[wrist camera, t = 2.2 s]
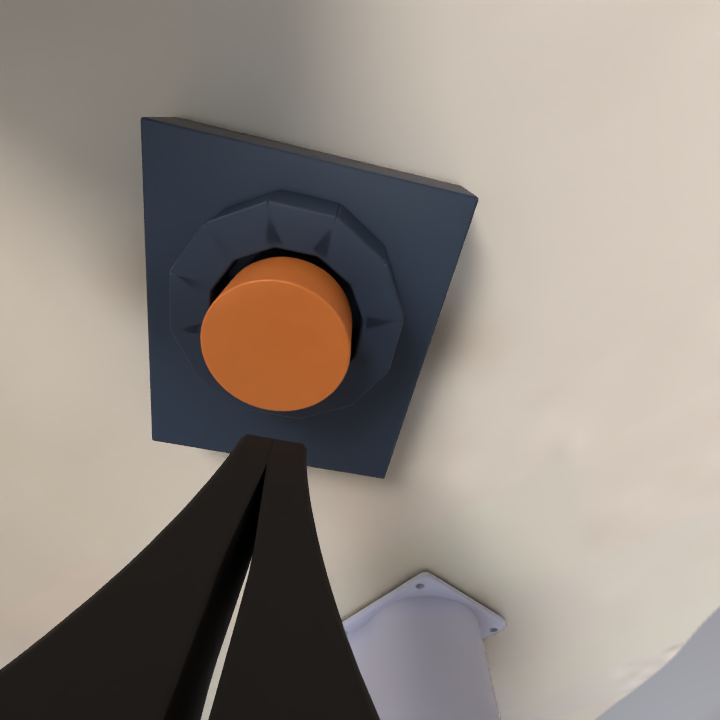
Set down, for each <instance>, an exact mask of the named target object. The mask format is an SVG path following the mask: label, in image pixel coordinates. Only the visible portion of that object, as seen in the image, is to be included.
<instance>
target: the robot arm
mask: <svg viewBox="0 0 720 720" xmlns="http://www.w3.org/2000/svg"><path fill="white" fill-rule="evenodd" d="M252 555H253V556H252ZM251 558H252V560H251ZM250 561H251V565H250V570H249V575H248V579H247V582H246V586H245V590H244V593H243V597H242V601H241V604H240V608H239V612H238V615H237V619H236V623H235V626H234V630H233V634H232V637H231V641H230V645H229V648H228V652H227V655H226V659H225V663H224V666H223V670H222V673H221V677H220V681H219V684H218V688H217V691H216V695H215V699H214V702H213V706H212V709H211V713H210V716H209V720H501V718H500V714H499V710H498V705H497V701H496V696H495V692H494V688H493V683H492V679H491V674H490V670H489V666H488V661H487V657H486V652H485V648H484V644H483V640H484V639H486V638H488V637H490V636H492V635H494V634H496V633H498V632H500V631H502V630H504V629H505V628H506V626H507V625H506V621H505V619H504V618H502V617H501V616H499V615H498V614H496V613H494V612H493V611H491V610H489V609H488V608H486V607H485V606H483V605H481V604H480V603H478V602H476V601H475V600H473V599H472V598H470V597H468V596H467V595H465V594H463V593H462V592H460V591H459V590H457V589H455V588H454V587H452V586H450V585H449V584H447V583H445V582H444V581H442V580H441V579H439V578H437V577H436V576H434V575H432V574H431V573H428V572H422V573H420V574H418V575H417V576H415V577H413V578H412V579H410V580H409V581H407V582H405V583H404V584H402V585H401V586H399V587H397V588H396V589H394V590H393V591H391V592H389V593H388V594H386V595H384V596H383V597H381V598H380V599H378V600H376V601H375V602H373V603H372V604H370V605H368V606H367V607H365V608H364V609H362V610H360V611H359V612H357V613H356V614H354V615H352V616H351V617H349V618H347V619H346V620H344V621H343V622H342V621H341V618H340V615H339V612H338V609H337V606H336V603H335V599H334V596H333V593H332V590H331V586H330V583H329V580H328V576H327V572H326V569H325V565H324V561H323V557H322V554H321V550H320V546H319V541H318V537H317V532H316V527H315V523H314V518H313V513H312V508H311V501H310V495H309V487H308V479H307V448H306V446H305V445H304V444H303V443H297V442H291V441H285V440H280V439H274V438H268V437H262V436H256V435H250V434H246V435H245V436H243V437H241V439H240V440H239V442H238V443H237V445H236V446H235V448H234V449H233V450H232V452H231V453H230V455H229V456H228V457H227V459H226V460H225V461H224V462H223V464H222V465H221V466H220V467H219V469H218V470H217V471H216V472H215V474H214V475H213V476H212V477H211V478H210V480H209V481H208V482H207V483H206V484H205V485H204V486H203V488H202V489H201V490H200V491H199V492H198V493H197V494H196V495H195V497H194V498H193V499H192V500H191V501H190V502H189V503H188V505H187V506H186V507H185V508H184V509H183V510H182V511H181V512H180V513H179V514H178V515H177V516H176V517H175V518H174V519H173V520H172V521H171V522H170V523H169V524H168V525H167V526H166V527H165V528H164V529H163V530H162V531H161V532H160V533H159V534H158V535H157V536H156V537H155V539H154V540H153V541H152V542H151V543H150V544H149V545H148V546H147V547H146V548H144V549H143V550H142V551H141V552H140V553H139V554H138V555H137V556H136V557H135V558H134V559H133V560H132V561H131V562H130V563H129V564H128V565H126V566H125V567H124V568H123V569H122V570H121V571H120V572H119V573H118V574H117V575H115V576H114V577H113V578H112V579H111V580H110V581H109V582H108V583H106V584H105V585H104V586H103V587H102V588H101V589H100V590H98V591H97V592H96V593H95V594H94V595H93V596H92V597H90V598H89V599H88V600H87V601H86V602H84V603H83V604H82V605H81V606H80V607H78V608H77V609H76V610H75V611H74V612H72V613H71V614H70V615H69V616H68V617H66V618H65V619H64V620H63V621H62V622H60V623H59V624H58V625H57V626H55V627H54V628H53V629H52V630H51V631H49V632H48V633H47V634H46V635H45V636H43V637H42V638H41V639H40V640H38V641H37V642H36V643H34V644H33V645H32V646H31V647H29V648H28V649H27V650H26V651H24V652H23V653H22V654H20V655H19V656H18V657H17V658H15V659H14V660H13V661H11V662H10V663H9V664H7V665H6V666H5V667H3V668H2V669H1V670H0V720H201V716H202V712H203V708H204V704H205V700H206V696H207V693H208V689H209V685H210V682H211V678H212V675H213V672H214V669H215V665H216V662H217V659H218V656H219V653H220V650H221V647H222V644H223V641H224V638H225V635H226V632H227V629H228V626H229V623H230V620H231V617H232V614H233V612H234V609H235V606H236V603H237V600H238V597H239V594H240V591H241V588H242V585H243V582H244V579H245V576H246V573H247V570H248V567H249V564H250Z"/></svg>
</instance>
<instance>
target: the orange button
mask: <svg viewBox="0 0 720 720" xmlns="http://www.w3.org/2000/svg"><path fill="white" fill-rule="evenodd" d="M351 338H352V313H351V308H350V304H349V301H348V299H347V297H346V294H345V293H344V291H343V290H342V288H341V287H340V285H339V284H338V283H337V281H336V280H335V279H334V278H333V277H332V276H331V275H330V274H328V273H327V272H326V271H324V270H323V269H321V268H320V267H318V266H316V265H315V264H312V263H310V262H308V261H305V260H301V259H298V258H292V257H269V258H265V259H261V260H258V261H256V262H254V263H251V264H250V265H248V266H246V267H245V268H243V269H242V270H241V271H240V272H238V274H237V275H236V276H235V277H234V278H233V279H232V280H231V281H230V283H229V284H228V285H227V286H226V288H225V289H224V290H223V291H222V292H221V294H220V295H219V296H218V297H217V298H216V300H215V301H214V302H213V303H212V305H211V306H210V308H209V309H208V311H207V313H206V315H205V317H204V319H203V323H202V327H201V335H200V339H201V349H202V354H203V357H204V360H205V363H206V365H207V367H208V369H209V371H210V372H211V374H212V375H213V377H214V378H215V379H216V380H217V382H218V383H219V384H220V385H221V386H222V387H223V388H224V389H225V390H226V391H228V392H229V393H230V394H232V395H233V396H234V397H236V398H238V399H239V400H241V401H243V402H245V403H247V404H249V405H252V406H255V407H258V408H262V409H266V410H272V411H294V410H299V409H304V408H307V407H310V406H313V405H315V404H317V403H319V402H321V401H322V400H324V399H325V398H327V397H328V396H329V395H330V394H332V393H333V392H334V391H335V390H336V389H337V387H338V386H339V385H340V383H341V382H342V380H343V379H344V377H345V375H346V373H347V370H348V366H349V362H350V355H351Z"/></svg>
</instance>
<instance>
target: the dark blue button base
mask: <svg viewBox="0 0 720 720" xmlns="http://www.w3.org/2000/svg"><path fill="white" fill-rule="evenodd" d="M141 141H142V168H143V196H144V223H145V251H146V279H147V306H148V334H149V361H150V389H151V416H152V439H153V440H154V441H160V442H166V443H172V444H178V445H184V446H190V447H196V448H202V449H208V450H214V451H220V452H226V453H231V452H232V450H233V449H234V448H235V446H236V445H237V443H238V442H239V440H240V439H241V437H243V436H245V435H246V434H250V435H256V436H262V437H268V438H274V439H280V440H285V441H291V442H297V443H303V444H304V445H305V446H306V448H307V466H310V467H316V468H322V469H328V470H334V471H340V472H346V473H352V474H358V475H364V476H370V477H376V478H382V479H383V478H384V477H385V474H386V471H387V469H388V466H389V463H390V460H391V457H392V454H393V451H394V448H395V445H396V442H397V439H398V436H399V433H400V430H401V427H402V424H403V421H404V418H405V415H406V412H407V409H408V406H409V404H410V401H411V398H412V395H413V392H414V389H415V386H416V383H417V380H418V377H419V374H420V371H421V368H422V365H423V362H424V359H425V356H426V353H427V350H428V347H429V344H430V341H431V339H432V336H433V333H434V330H435V327H436V324H437V321H438V318H439V315H440V312H441V309H442V306H443V303H444V300H445V297H446V294H447V291H448V288H449V285H450V282H451V279H452V276H453V273H454V271H455V268H456V265H457V262H458V259H459V256H460V253H461V250H462V247H463V244H464V241H465V238H466V235H467V232H468V229H469V226H470V223H471V220H472V217H473V214H474V211H475V208H476V206H477V203H478V197H476V196H475V195H474V194H472V193H471V192H469V191H468V190H466V189H465V188H463V187H462V186H459V185H455V184H450V183H446V182H442V181H438V180H434V179H430V178H426V177H421V176H417V175H413V174H409V173H405V172H401V171H396V170H392V169H388V168H384V167H380V166H376V165H372V164H367V163H363V162H359V161H355V160H351V159H347V158H342V157H338V156H334V155H330V154H326V153H322V152H317V151H313V150H309V149H305V148H301V147H297V146H293V145H288V144H284V143H280V142H276V141H272V140H268V139H263V138H259V137H255V136H251V135H247V134H243V133H239V132H234V131H230V130H226V129H222V128H218V127H214V126H209V125H205V124H201V123H197V122H193V121H189V120H184V119H180V118H176V117H142V118H141ZM269 257H292V258H298V259H301V260H305V261H308V262H310V263H312V264H315V265H316V266H318V267H320V268H321V269H323V270H324V271H326V272H327V273H328V274H330V275H331V276H332V277H333V278H334V279H335V280H336V281H337V283H338V284H339V285H340V287H341V288H342V290H343V291H344V293H345V294H346V297H347V299H348V301H349V304H350V308H351V313H352V338H351V355H350V362H349V366H348V370H347V373H346V375H345V377H344V379H343V380H342V382H341V383H340V385H339V386H338V387H337V389H336V390H335V391H334V392H333V393H332V394H330V395H329V396H328V397H327V398H325V399H324V400H322V401H321V402H319V403H317V404H315V405H313V406H310V407H307V408H304V409H299V410H294V411H272V410H266V409H262V408H258V407H255V406H252V405H249V404H247V403H245V402H243V401H241V400H239V399H238V398H236V397H234V396H233V395H232V394H230V393H229V392H228V391H226V390H225V389H224V388H223V387H222V386H221V385H220V384H219V383H218V382H217V380H216V379H215V378H214V377H213V375H212V374H211V372H210V371H209V369H208V367H207V365H206V363H205V360H204V357H203V354H202V349H201V339H200V335H201V327H202V323H203V319H204V317H205V315H206V313H207V311H208V309H209V308H210V306H211V305H212V303H213V302H214V301H215V300H216V298H217V297H218V296H219V295H220V294H221V292H222V291H223V290H224V289H225V288H226V286H227V285H228V284H229V283H230V281H231V280H232V279H233V278H234V277H235V276H236V275H237V274H238V272H240V271H241V270H242V269H243V268H245V267H246V266H248V265H250V264H251V263H254V262H256V261H258V260H261V259H265V258H269Z"/></svg>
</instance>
